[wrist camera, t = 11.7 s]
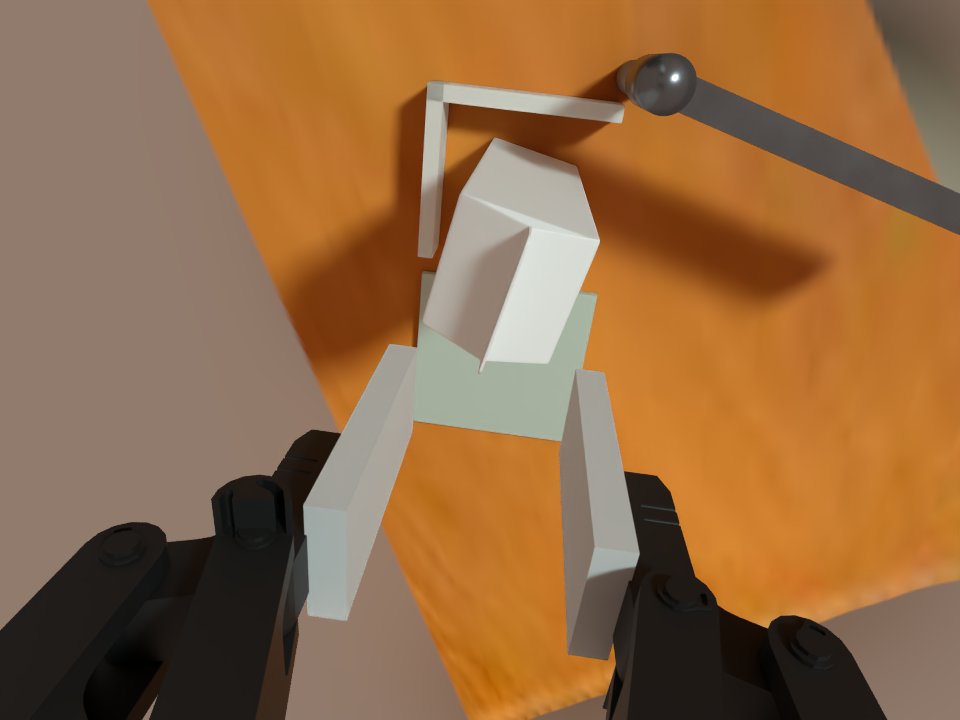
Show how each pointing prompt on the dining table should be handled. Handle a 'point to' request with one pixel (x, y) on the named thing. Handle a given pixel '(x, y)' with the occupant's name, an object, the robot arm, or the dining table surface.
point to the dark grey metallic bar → (785, 138)
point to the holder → (492, 98)
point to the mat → (499, 380)
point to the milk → (513, 257)
